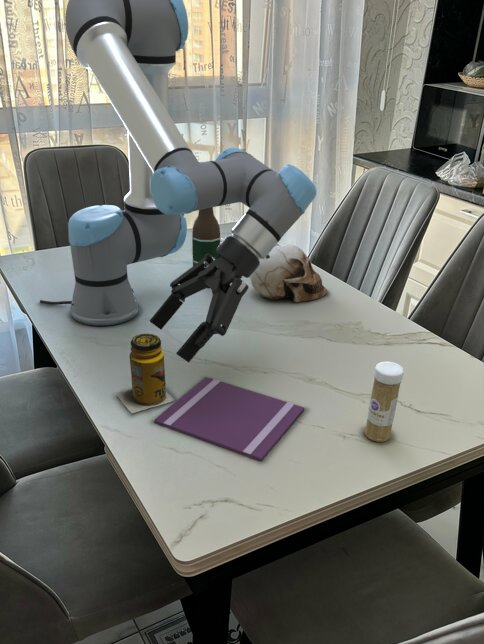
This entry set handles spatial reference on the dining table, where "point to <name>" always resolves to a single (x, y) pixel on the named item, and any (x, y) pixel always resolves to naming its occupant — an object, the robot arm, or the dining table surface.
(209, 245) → the beer bottle
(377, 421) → the sprinkles bottle
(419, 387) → the dining table surface
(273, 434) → the towel
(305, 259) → the coin bank
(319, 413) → the dining table surface
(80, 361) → the dining table surface
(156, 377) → the condiment
